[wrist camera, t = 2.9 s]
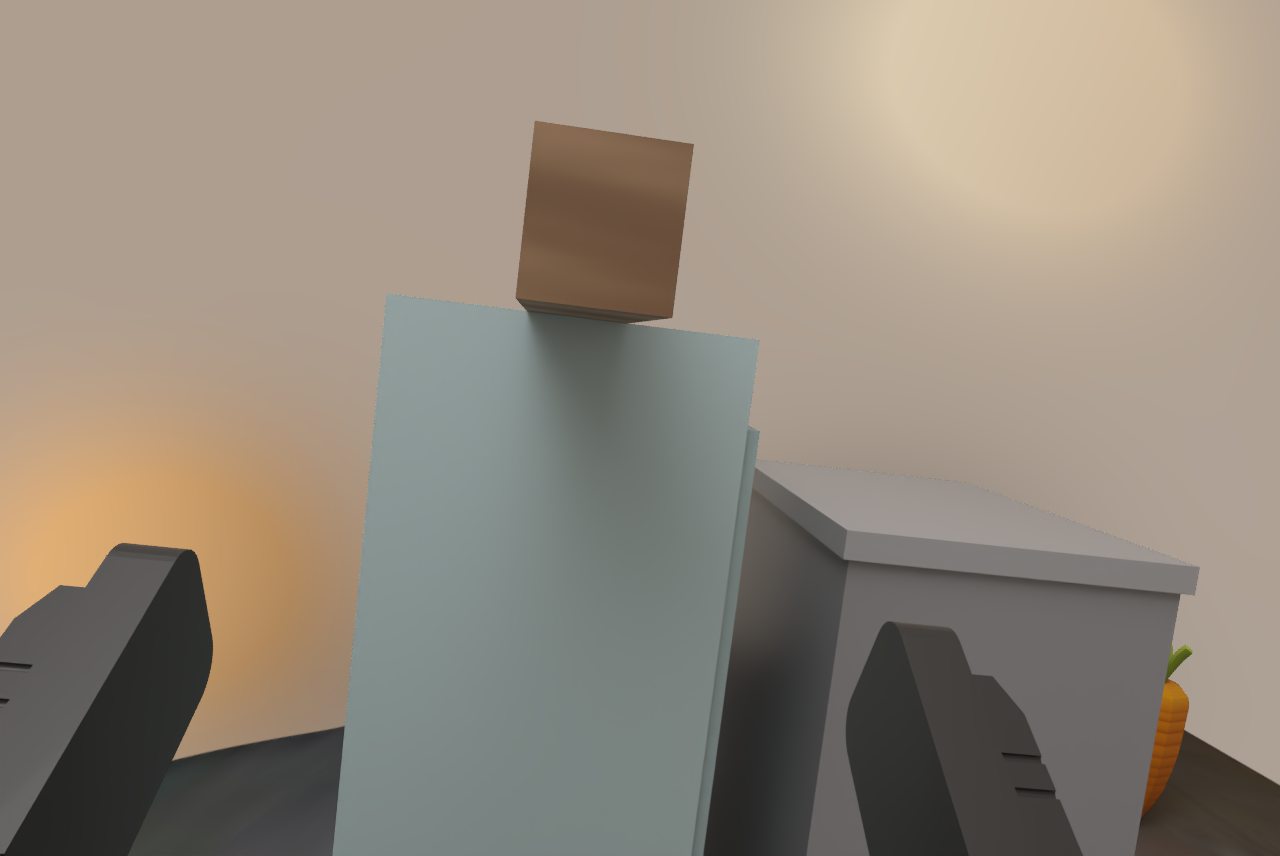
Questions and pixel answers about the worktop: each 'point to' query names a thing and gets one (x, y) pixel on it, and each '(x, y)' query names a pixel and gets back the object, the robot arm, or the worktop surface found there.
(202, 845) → the worktop surface
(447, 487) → the teal cabinet
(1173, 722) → the carrot
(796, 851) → the gray box
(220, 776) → the worktop surface
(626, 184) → the walnut rail
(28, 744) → the robot arm
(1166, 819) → the worktop surface
